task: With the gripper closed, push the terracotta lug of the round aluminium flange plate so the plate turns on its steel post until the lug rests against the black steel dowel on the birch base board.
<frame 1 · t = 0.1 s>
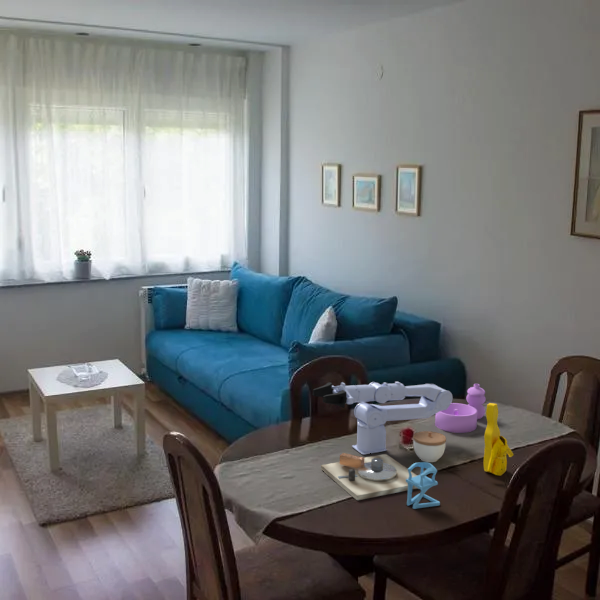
hand: (318, 395, 244), 22 cm above the table, tool horizontal, fingers open, 7 cm apart
blue abstract sculpture: (420, 504, 216), on the table
figure statuette: (494, 471, 239), on the table
container set: (462, 423, 284), on the table
base board: (372, 477, 233), on the table
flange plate: (367, 464, 233), point 4 cm above the table, hinge at -45.0°
lidded jar: (428, 459, 249), on the table
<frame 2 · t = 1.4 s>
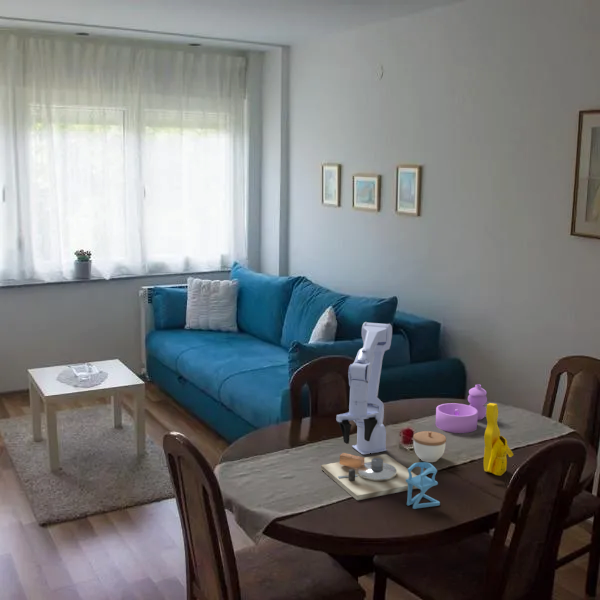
hand: (356, 441, 240), 9 cm above the table, tool pointing down, fingers open, 7 cm apart
nothing on the table moved.
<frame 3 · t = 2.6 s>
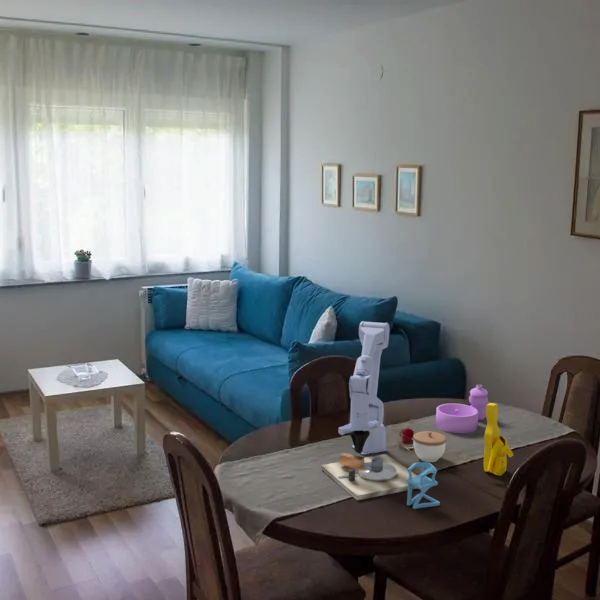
hand: (358, 452, 240), 5 cm above the table, tool pointing down, fingers closed
nothing on the table moved.
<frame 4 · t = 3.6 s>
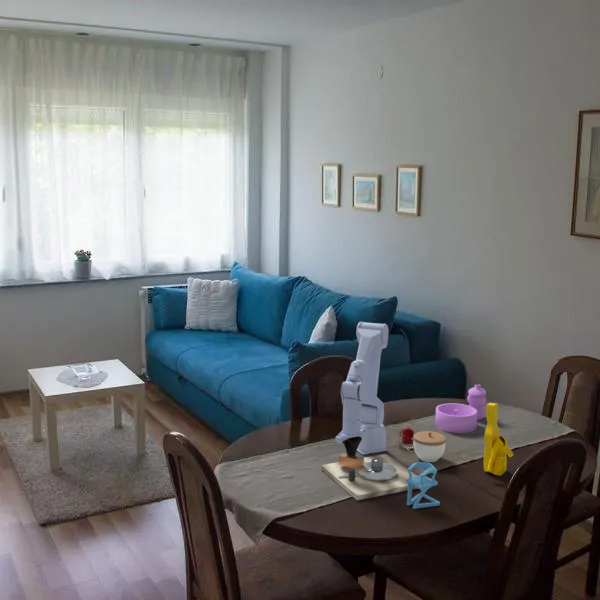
hand: (351, 458, 238), 4 cm above the table, tool pointing down, fingers closed
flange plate: (367, 464, 233), point 4 cm above the table, hinge at -42.2°, touching gripper
everything else where it was.
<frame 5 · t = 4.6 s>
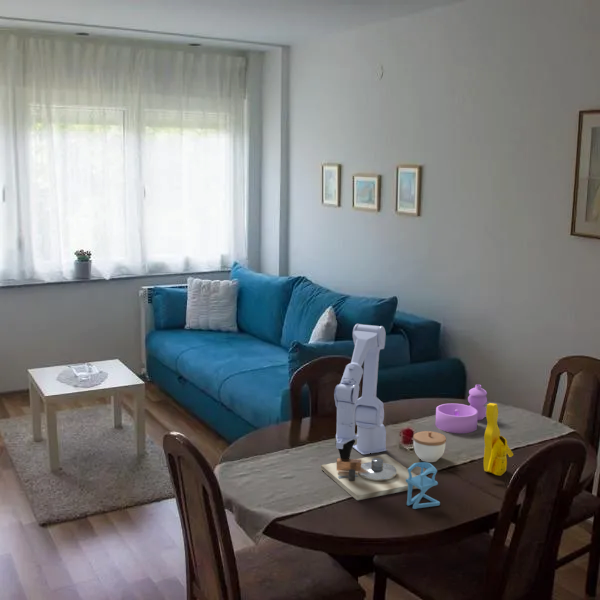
hand: (344, 462, 235), 4 cm above the table, tool pointing down, fingers closed
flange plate: (366, 466, 232), point 4 cm above the table, hinge at -21.6°, touching gripper
everything else where it was.
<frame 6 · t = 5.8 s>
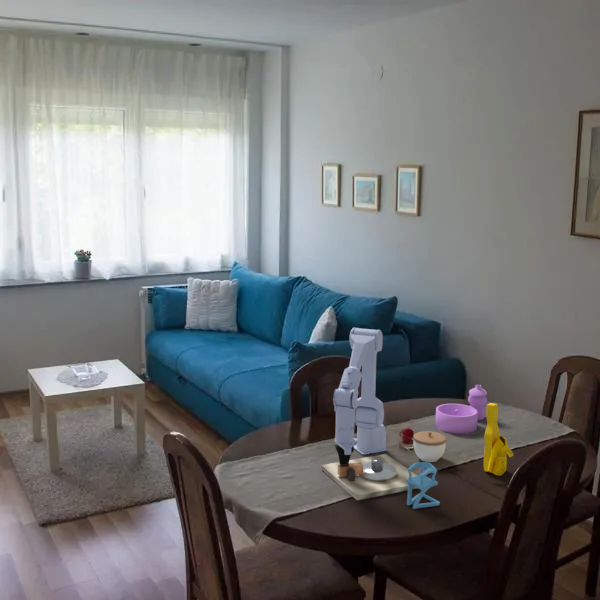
hand: (344, 467, 231), 4 cm above the table, tool pointing down, fingers closed
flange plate: (367, 467, 231), point 4 cm above the table, hinge at 0.7°, touching base board, gripper
everything else where it was.
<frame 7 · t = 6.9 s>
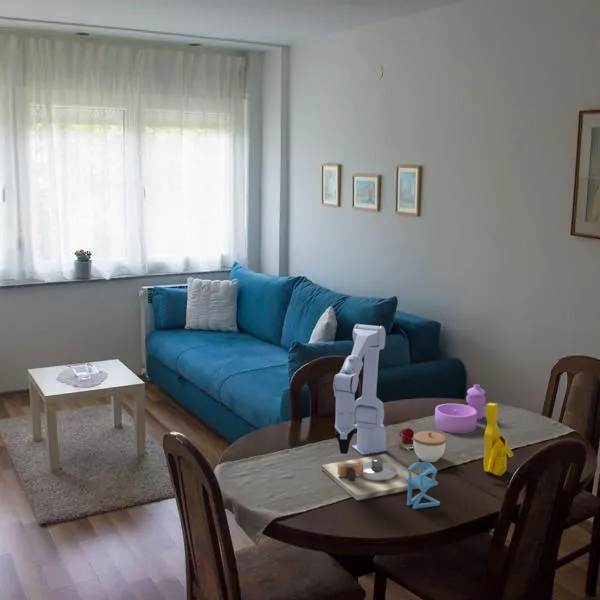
hand: (344, 452, 232), 8 cm above the table, tool pointing down, fingers closed
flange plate: (367, 467, 231), point 4 cm above the table, hinge at 0.6°, touching base board
everything else where it was.
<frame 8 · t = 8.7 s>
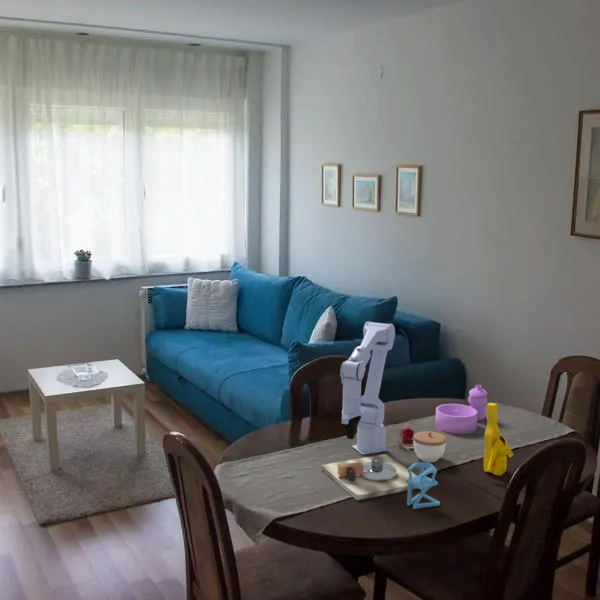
hand: (350, 438, 240), 9 cm above the table, tool pointing down, fingers closed
at the end: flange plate at +1° (first picture: -45°) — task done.
